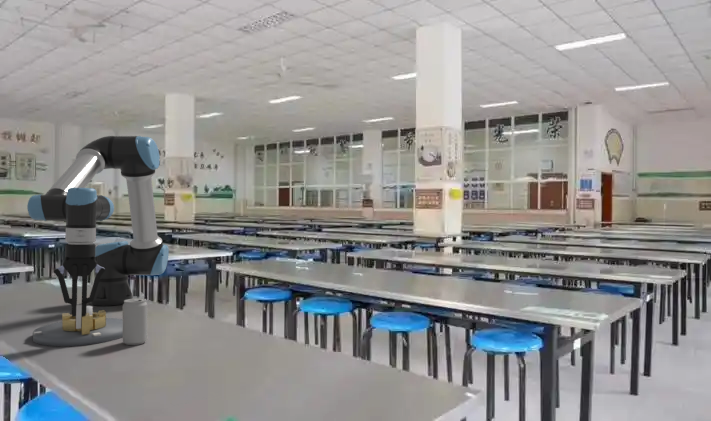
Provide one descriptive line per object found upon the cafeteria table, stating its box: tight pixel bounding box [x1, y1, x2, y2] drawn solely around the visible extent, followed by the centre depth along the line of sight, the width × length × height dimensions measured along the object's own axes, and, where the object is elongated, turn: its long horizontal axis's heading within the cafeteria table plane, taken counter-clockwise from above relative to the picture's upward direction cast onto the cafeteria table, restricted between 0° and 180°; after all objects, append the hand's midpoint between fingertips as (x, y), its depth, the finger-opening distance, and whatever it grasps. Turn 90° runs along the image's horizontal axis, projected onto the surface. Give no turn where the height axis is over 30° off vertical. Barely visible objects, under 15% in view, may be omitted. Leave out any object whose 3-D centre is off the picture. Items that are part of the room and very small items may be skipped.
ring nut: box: [61, 309, 107, 335], centre depth 157 cm, size 16×11×5 cm
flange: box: [32, 305, 123, 347], centre depth 159 cm, size 26×26×8 cm
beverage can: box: [122, 298, 148, 346], centre depth 150 cm, size 6×6×12 cm
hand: (78, 327), depth 150 cm, fingers closed
